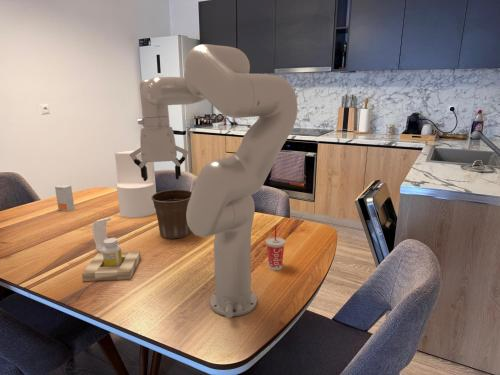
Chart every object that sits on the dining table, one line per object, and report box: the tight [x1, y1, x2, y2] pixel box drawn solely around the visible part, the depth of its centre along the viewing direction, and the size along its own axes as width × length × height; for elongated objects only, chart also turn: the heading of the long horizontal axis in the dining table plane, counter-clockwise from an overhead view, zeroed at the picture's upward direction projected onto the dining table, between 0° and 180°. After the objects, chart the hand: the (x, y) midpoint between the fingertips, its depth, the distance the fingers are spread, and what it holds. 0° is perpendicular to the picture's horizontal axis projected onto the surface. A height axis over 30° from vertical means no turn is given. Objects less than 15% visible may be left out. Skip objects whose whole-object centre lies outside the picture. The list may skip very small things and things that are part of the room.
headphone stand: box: [91, 217, 112, 253], centre depth 126 cm, size 5×6×12 cm
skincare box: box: [54, 184, 75, 212], centre depth 169 cm, size 6×4×12 cm
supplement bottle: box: [102, 237, 122, 267], centre depth 111 cm, size 5×5×10 cm
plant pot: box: [151, 189, 193, 240], centre depth 139 cm, size 16×16×16 cm
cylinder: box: [114, 150, 157, 219], centre depth 164 cm, size 17×17×28 cm
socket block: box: [81, 250, 142, 282], centre depth 113 cm, size 14×14×2 cm
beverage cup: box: [265, 225, 286, 271], centre depth 112 cm, size 6×6×14 cm
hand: (161, 179), depth 108 cm, fingers open, 9 cm apart
